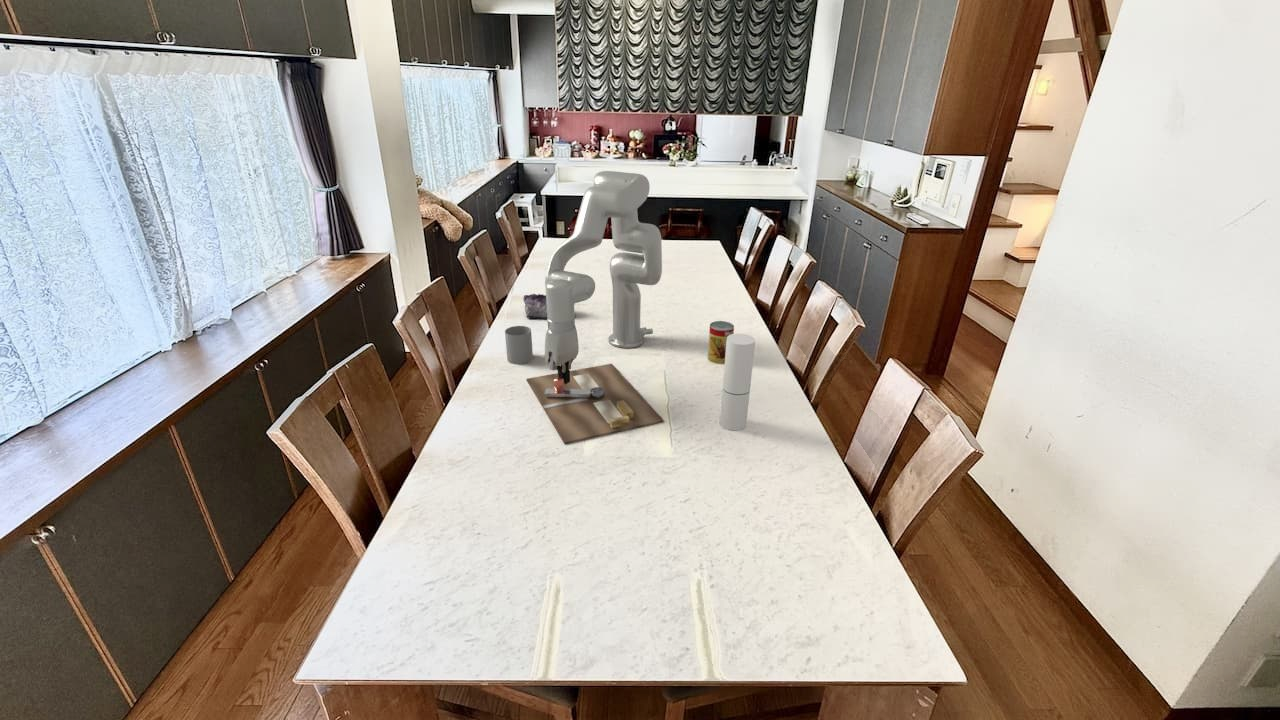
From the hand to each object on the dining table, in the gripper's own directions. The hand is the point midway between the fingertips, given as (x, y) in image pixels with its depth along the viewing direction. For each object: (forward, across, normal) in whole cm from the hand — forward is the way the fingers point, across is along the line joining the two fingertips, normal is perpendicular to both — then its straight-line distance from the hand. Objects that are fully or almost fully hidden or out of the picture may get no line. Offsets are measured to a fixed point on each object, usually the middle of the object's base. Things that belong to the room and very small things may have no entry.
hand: (564, 381), depth 175 cm
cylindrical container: (+4, -13, +48) cm, 50 cm away
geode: (+4, -44, -46) cm, 64 cm away
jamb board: (+3, -1, +9) cm, 10 cm away
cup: (+4, -9, -27) cm, 29 cm away
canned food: (+4, -48, +27) cm, 55 cm away
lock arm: (+3, +1, +5) cm, 6 cm away
